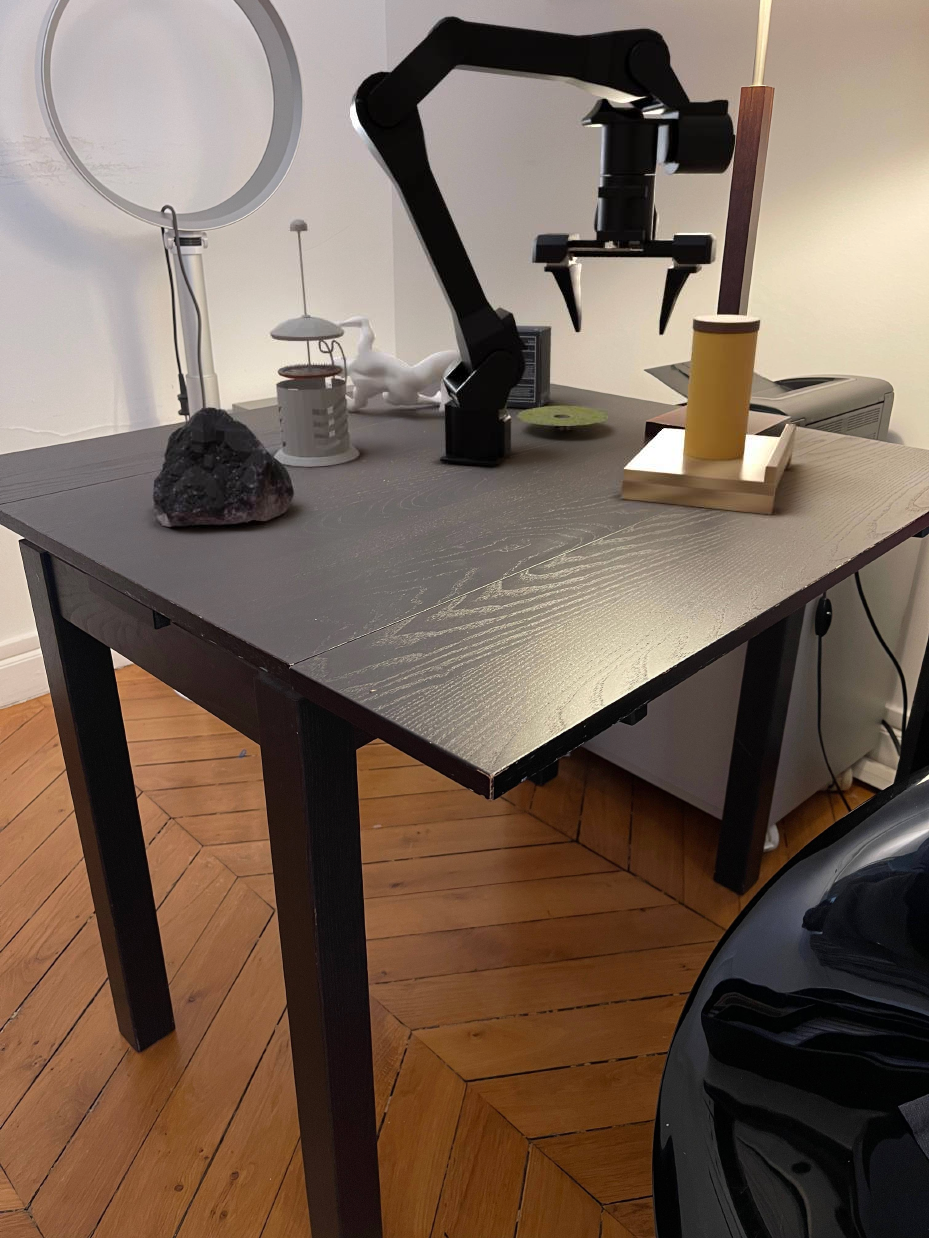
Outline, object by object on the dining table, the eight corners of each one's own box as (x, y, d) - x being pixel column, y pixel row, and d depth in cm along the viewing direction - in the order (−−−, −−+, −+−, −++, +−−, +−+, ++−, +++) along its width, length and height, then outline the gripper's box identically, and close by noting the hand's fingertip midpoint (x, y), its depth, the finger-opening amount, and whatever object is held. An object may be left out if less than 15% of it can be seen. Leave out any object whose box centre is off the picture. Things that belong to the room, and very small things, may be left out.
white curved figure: (458, 323, 128) (330, 305, 122) (484, 358, 119) (345, 340, 113) (439, 411, 135) (317, 398, 129) (462, 450, 126) (330, 438, 120)
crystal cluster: (243, 548, 81) (244, 434, 77) (114, 520, 85) (109, 410, 81) (317, 514, 93) (320, 414, 89) (200, 491, 96) (199, 394, 93)
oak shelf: (621, 498, 90) (623, 453, 88) (661, 454, 105) (664, 414, 103) (771, 515, 85) (777, 467, 83) (790, 465, 100) (796, 424, 98)
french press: (256, 462, 104) (230, 220, 94) (309, 438, 114) (291, 217, 104) (333, 469, 101) (315, 220, 91) (381, 445, 111) (369, 217, 100)
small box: (551, 400, 133) (553, 324, 129) (540, 410, 128) (541, 330, 123) (481, 397, 136) (481, 322, 132) (467, 405, 131) (466, 328, 126)
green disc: (621, 426, 118) (622, 410, 117) (582, 445, 110) (583, 428, 109) (543, 416, 124) (543, 402, 123) (500, 434, 115) (500, 418, 114)
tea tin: (707, 463, 90) (721, 324, 85) (669, 449, 95) (680, 317, 90) (758, 456, 92) (774, 319, 87) (718, 442, 98) (731, 313, 92)
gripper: (728, 174, 99) (713, 326, 106) (558, 178, 105) (554, 322, 112) (717, 173, 90) (703, 340, 96) (531, 177, 96) (529, 334, 102)
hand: (619, 333), depth 102 cm, fingers open, 9 cm apart
